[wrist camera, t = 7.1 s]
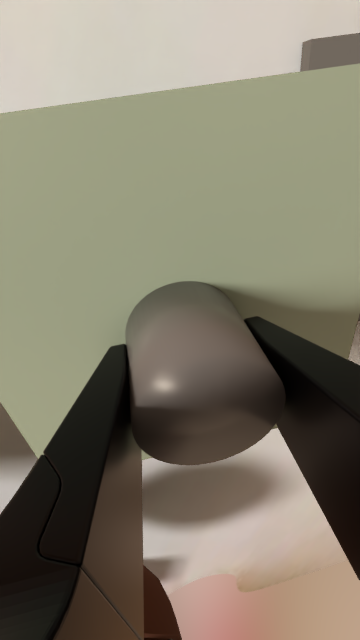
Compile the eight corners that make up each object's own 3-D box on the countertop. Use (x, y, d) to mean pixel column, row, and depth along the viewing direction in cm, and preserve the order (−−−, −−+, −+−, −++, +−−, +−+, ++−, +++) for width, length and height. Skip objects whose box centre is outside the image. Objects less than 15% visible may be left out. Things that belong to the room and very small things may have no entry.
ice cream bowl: (47, 541, 27) (-4, 895, 15) (-9, 471, 21) (-175, 985, 9) (167, 512, 28) (212, 820, 16) (149, 437, 22) (201, 851, 10)
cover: (395, 59, 7) (633, 17, 4) (322, 399, 13) (388, 489, 10) (-144, 134, 6) (-425, 163, 3) (56, 461, 12) (37, 581, 9)
